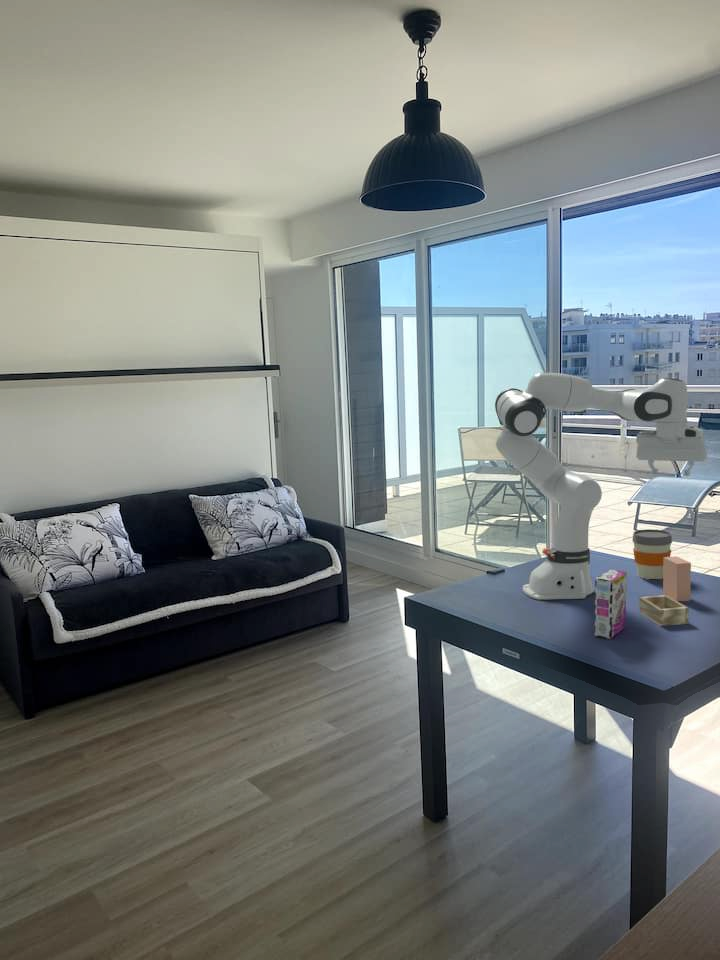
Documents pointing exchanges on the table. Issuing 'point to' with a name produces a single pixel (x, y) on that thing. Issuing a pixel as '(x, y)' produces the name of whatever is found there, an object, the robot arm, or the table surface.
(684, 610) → the slot holder
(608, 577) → the candy bar box
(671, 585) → the peach block
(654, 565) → the reusable coffee cup
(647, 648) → the table surface
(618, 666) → the table surface
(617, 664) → the table surface
